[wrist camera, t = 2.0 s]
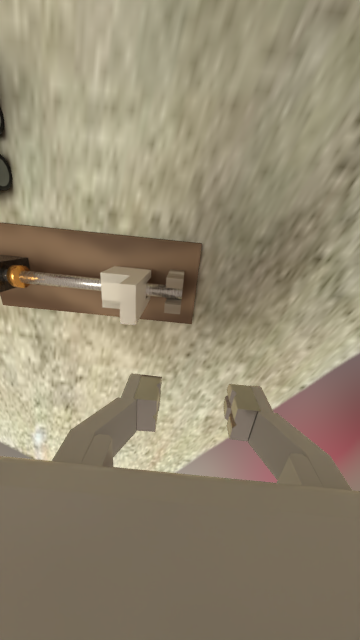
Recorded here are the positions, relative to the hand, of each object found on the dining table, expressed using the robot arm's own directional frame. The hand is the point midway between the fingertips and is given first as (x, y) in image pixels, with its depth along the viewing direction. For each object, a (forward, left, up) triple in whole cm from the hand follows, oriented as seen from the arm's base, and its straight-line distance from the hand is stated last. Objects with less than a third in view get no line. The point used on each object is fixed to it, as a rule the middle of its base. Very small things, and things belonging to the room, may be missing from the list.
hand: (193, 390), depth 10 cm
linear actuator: (0, -14, -23) cm, 27 cm away
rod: (0, -14, -22) cm, 26 cm away
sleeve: (0, -8, -20) cm, 22 cm away
